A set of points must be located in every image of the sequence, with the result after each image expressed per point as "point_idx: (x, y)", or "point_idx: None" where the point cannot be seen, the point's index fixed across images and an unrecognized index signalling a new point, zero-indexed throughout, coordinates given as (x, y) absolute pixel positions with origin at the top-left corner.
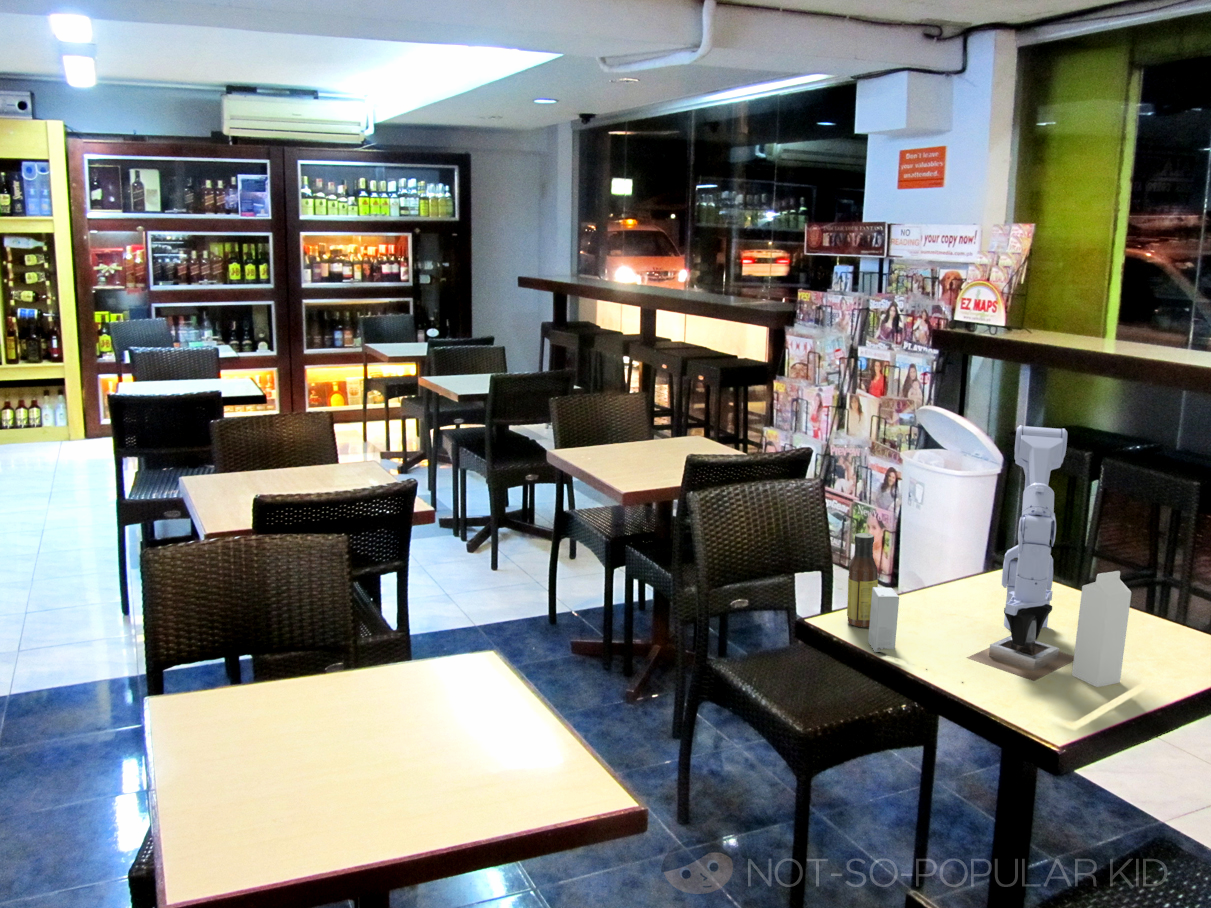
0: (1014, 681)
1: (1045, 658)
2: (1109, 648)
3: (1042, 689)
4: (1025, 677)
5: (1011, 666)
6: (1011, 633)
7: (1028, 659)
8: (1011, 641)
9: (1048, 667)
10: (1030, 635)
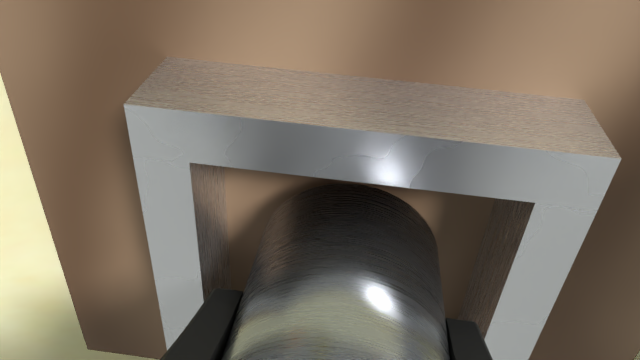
0: (58, 260)
1: None
2: None
3: (106, 356)
4: (82, 318)
5: (145, 231)
6: (165, 354)
7: None
8: (267, 258)
9: None
10: None
